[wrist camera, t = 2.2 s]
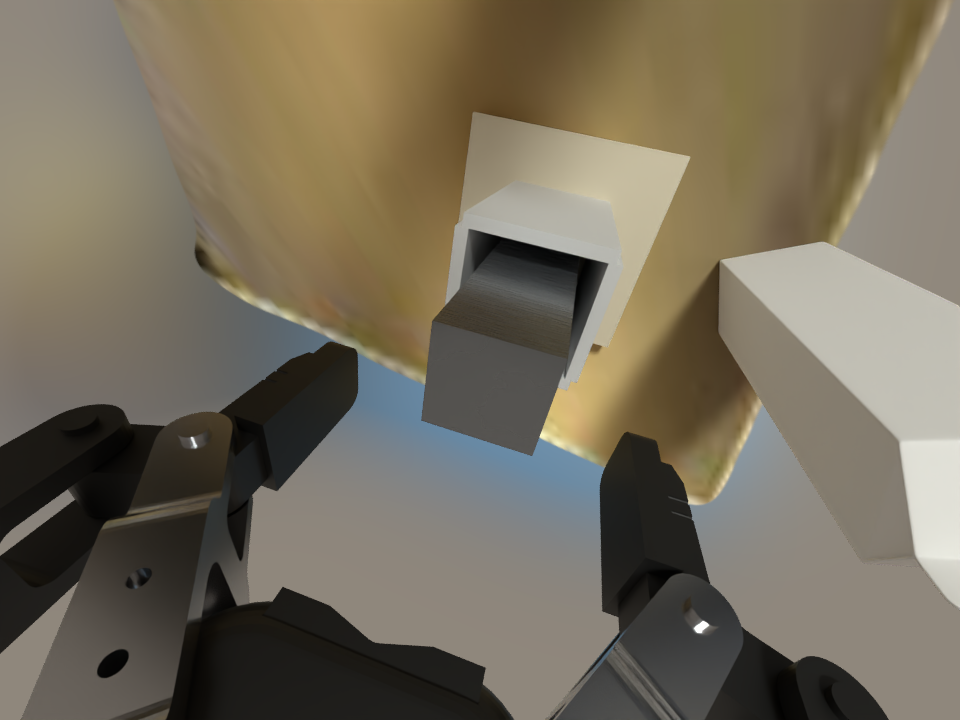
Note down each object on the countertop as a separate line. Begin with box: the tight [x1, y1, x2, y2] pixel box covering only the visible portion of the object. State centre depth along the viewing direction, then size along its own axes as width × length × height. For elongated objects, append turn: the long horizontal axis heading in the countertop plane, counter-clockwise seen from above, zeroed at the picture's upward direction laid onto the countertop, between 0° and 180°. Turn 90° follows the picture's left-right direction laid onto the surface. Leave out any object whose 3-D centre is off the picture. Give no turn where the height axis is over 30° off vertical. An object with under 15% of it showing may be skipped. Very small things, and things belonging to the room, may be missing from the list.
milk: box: [718, 242, 960, 610], centre depth 17 cm, size 6×6×22 cm
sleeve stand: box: [445, 112, 690, 390], centre depth 22 cm, size 14×14×15 cm
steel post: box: [422, 237, 579, 456], centre depth 19 cm, size 5×4×19 cm
